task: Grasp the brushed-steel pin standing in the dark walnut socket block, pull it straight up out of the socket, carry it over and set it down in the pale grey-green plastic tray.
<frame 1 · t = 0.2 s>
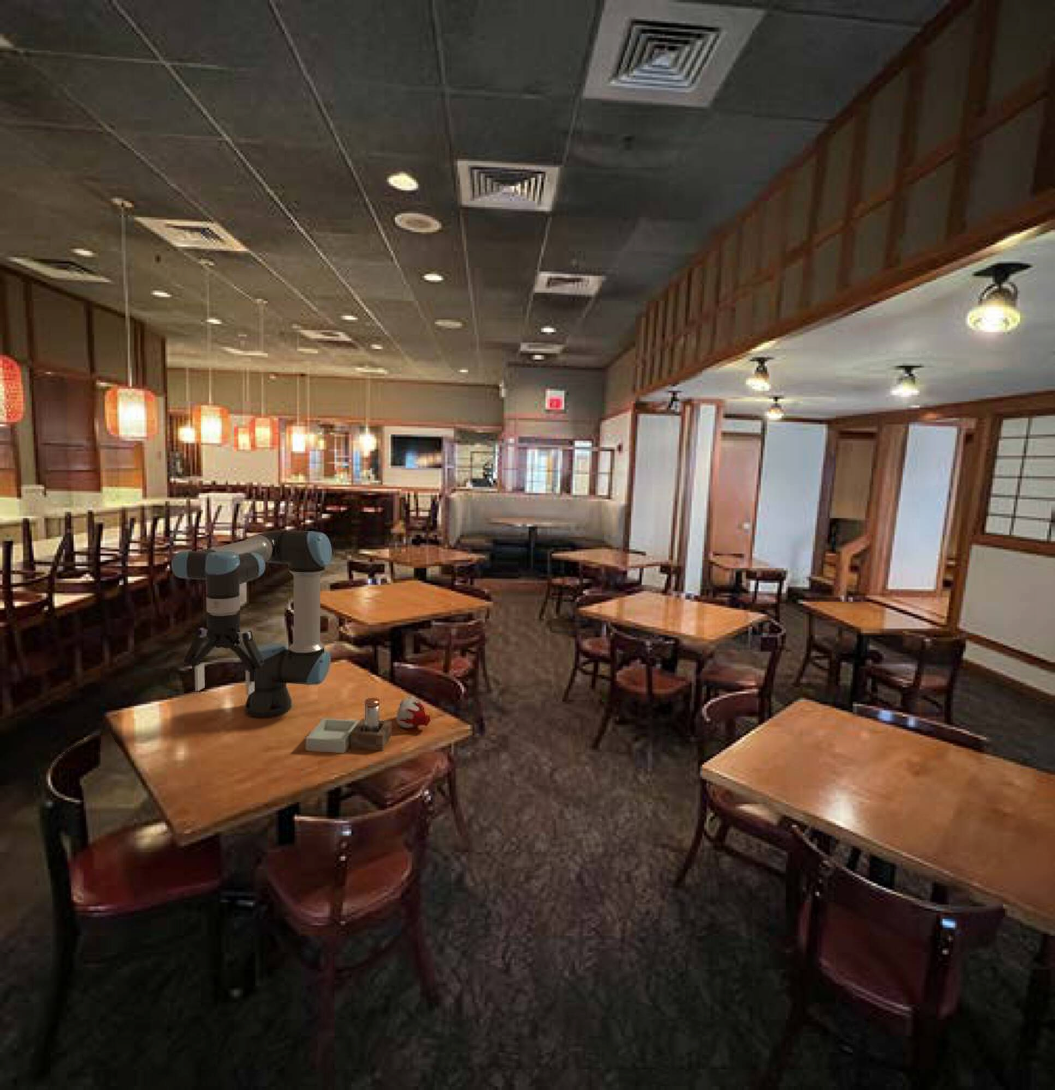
hand: (225, 690, 144), 28 cm above the table, fingers open, 13 cm apart
pin: (371, 721, 177), in the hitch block
candle: (412, 726, 190), on the table
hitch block: (371, 741, 178), on the table
tray: (333, 740, 177), on the table
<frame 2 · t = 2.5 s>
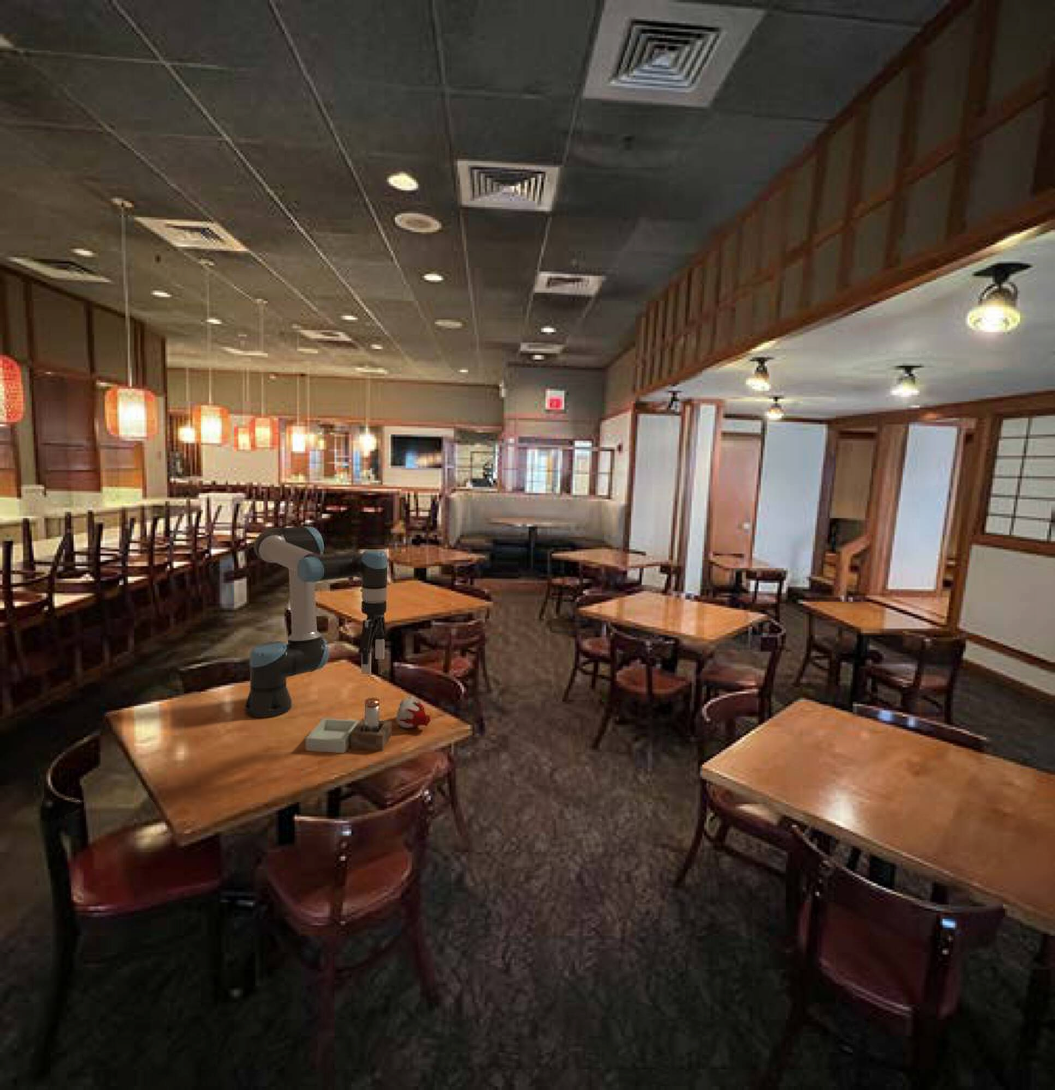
hand: (373, 665, 174), 26 cm above the table, fingers open, 13 cm apart
nothing on the table moved.
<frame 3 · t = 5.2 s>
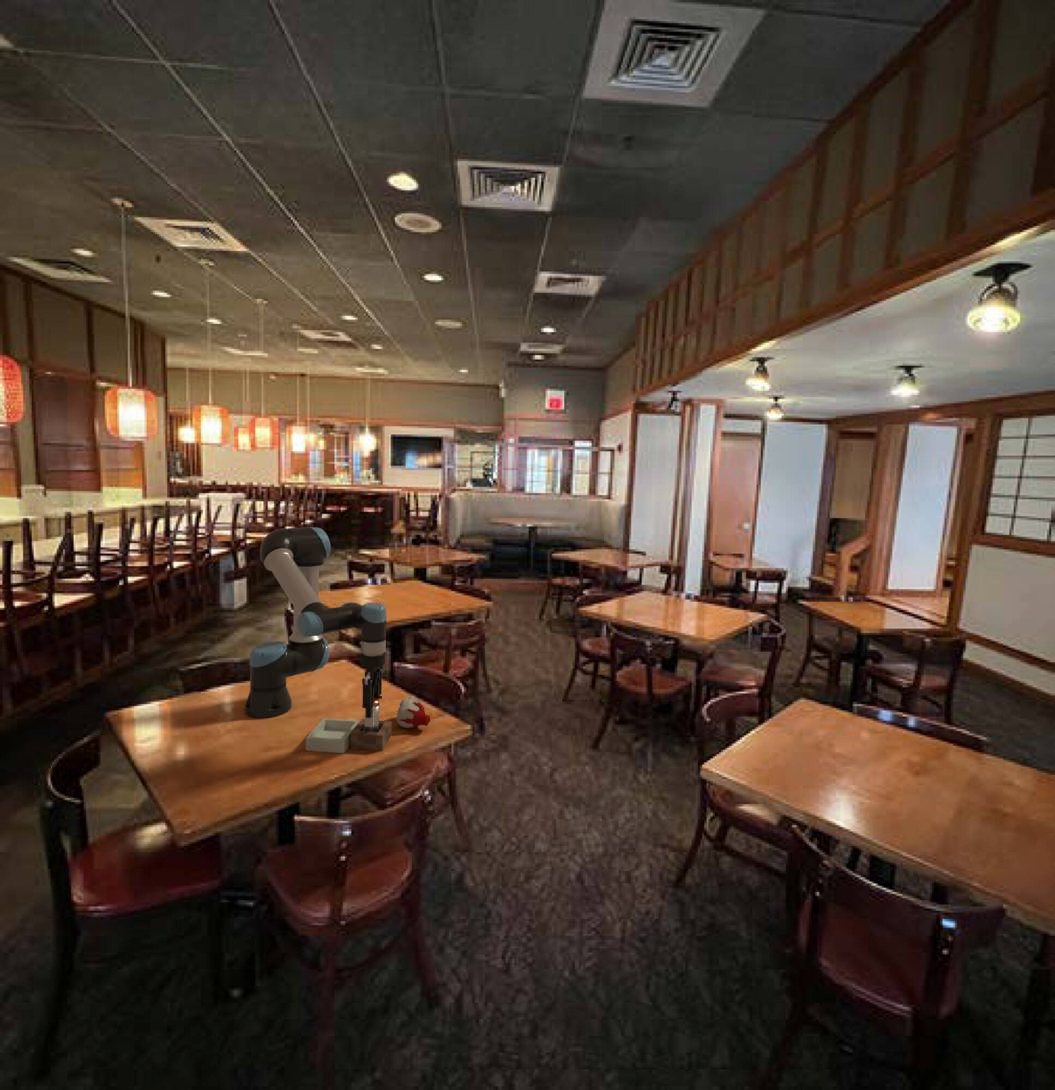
hand: (371, 722, 177), 7 cm above the table, fingers closed on pin, 4 cm apart
pin: (371, 721, 177), in the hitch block, touching gripper
everything else where it was.
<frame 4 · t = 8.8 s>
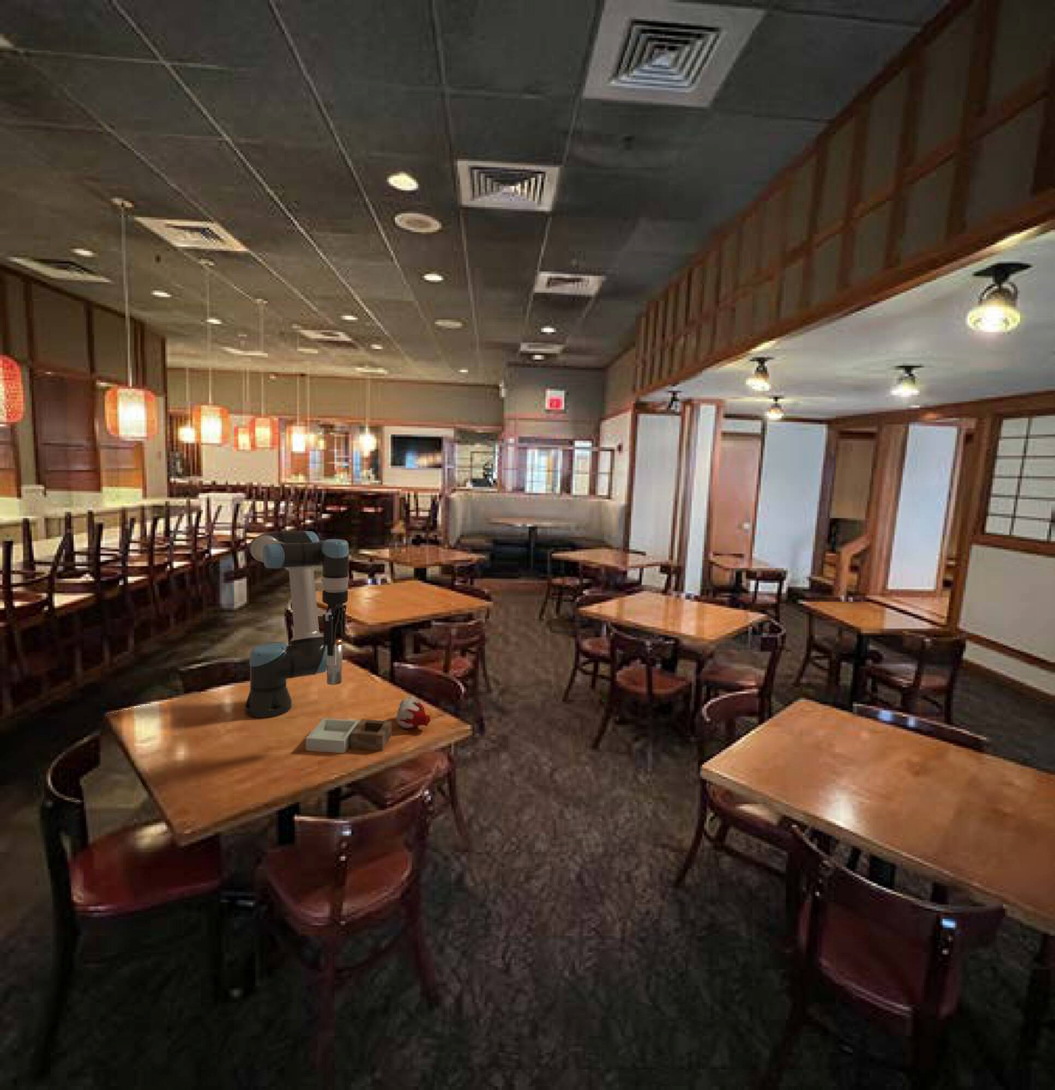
hand: (334, 661, 174), 26 cm above the table, fingers closed on pin, 4 cm apart
pin: (334, 660, 174), point 27 cm above the table, touching gripper
everything else where it was.
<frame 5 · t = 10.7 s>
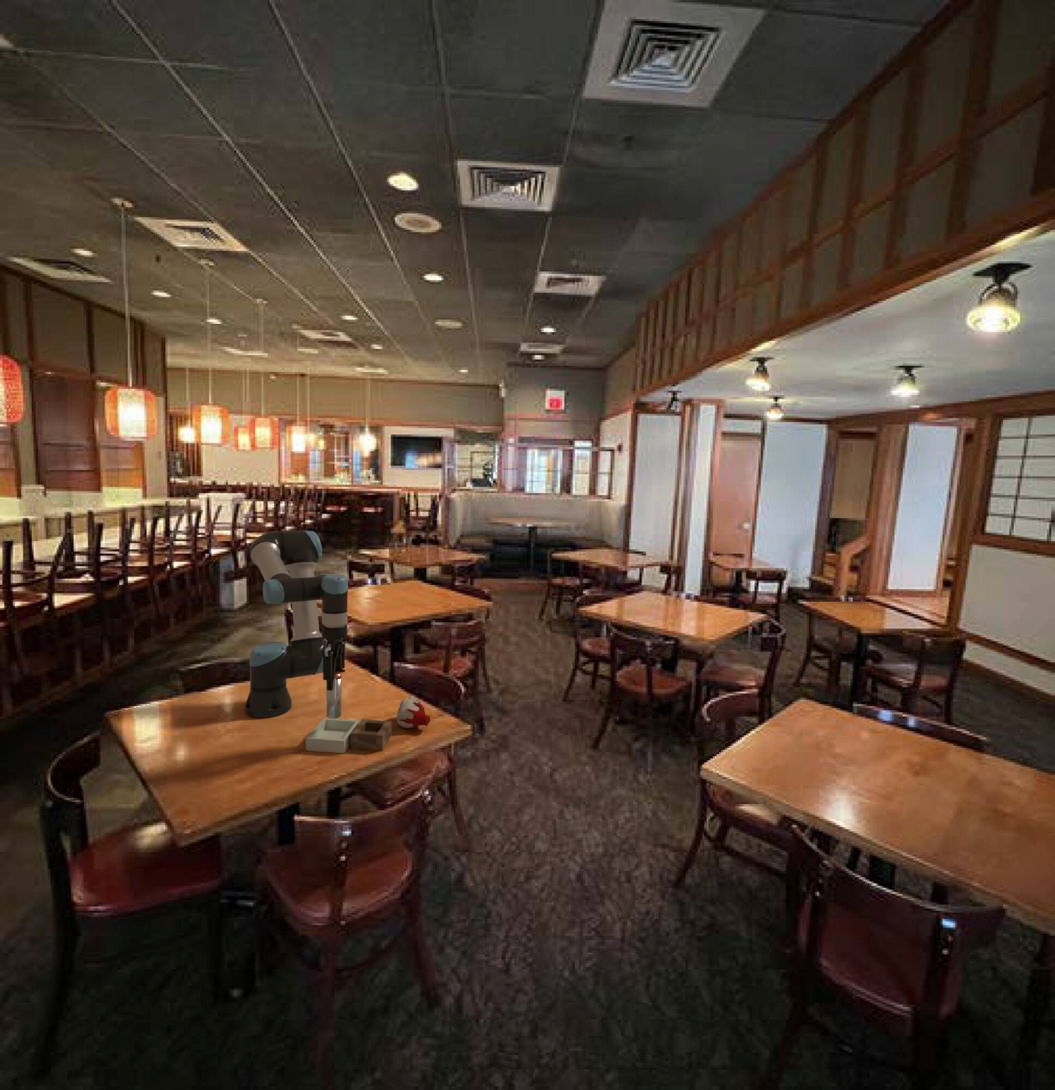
hand: (334, 695, 175), 15 cm above the table, fingers closed on pin, 4 cm apart
pin: (334, 694, 175), point 16 cm above the table, touching gripper
everything else where it was.
when the fingers open (9 cm above the table, at t = 12.6 s): pin drops 1 cm, resting on tray.
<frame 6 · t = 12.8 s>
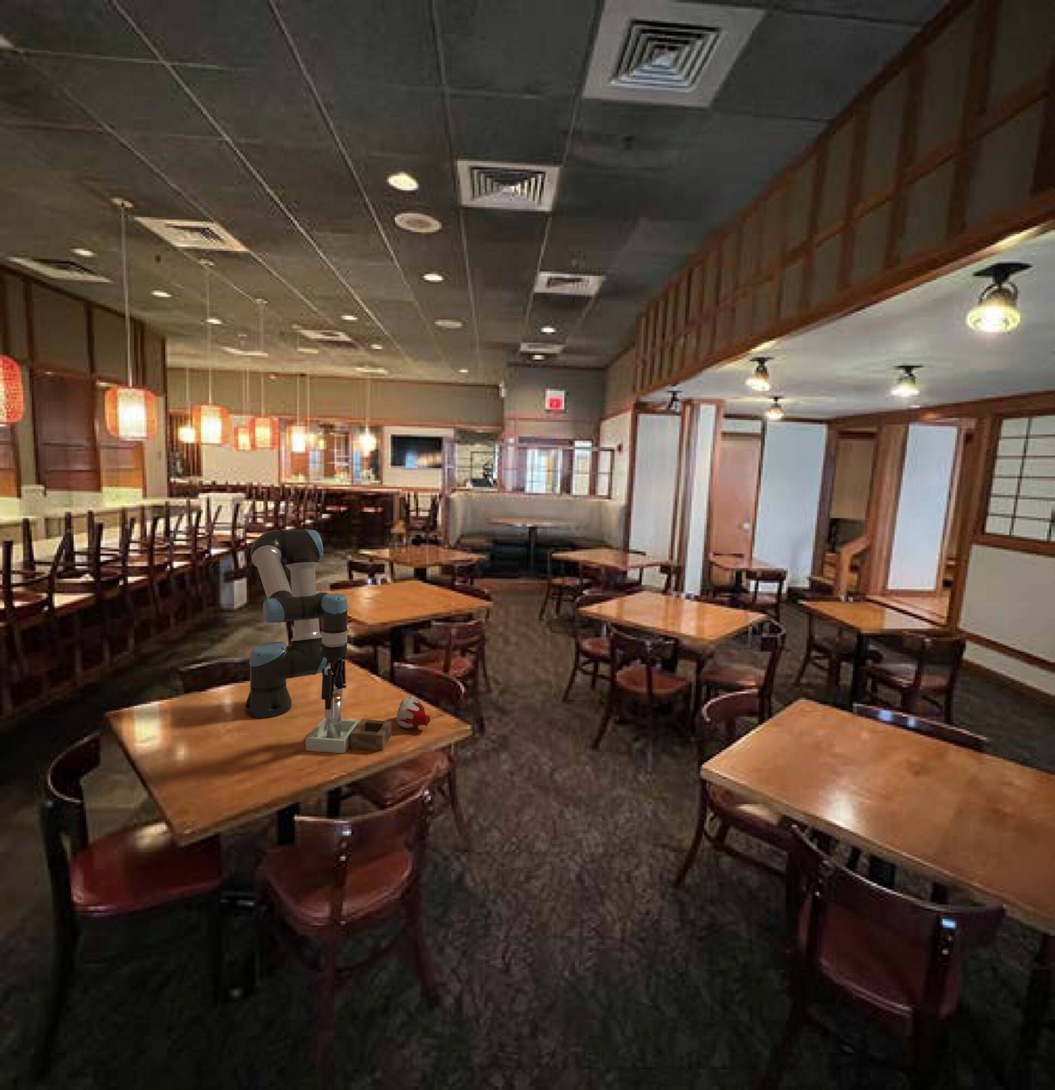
hand: (333, 712, 176), 9 cm above the table, fingers open, 7 cm apart
pin: (333, 717, 176), in the tray, point 8 cm above the table
everything else where it was.
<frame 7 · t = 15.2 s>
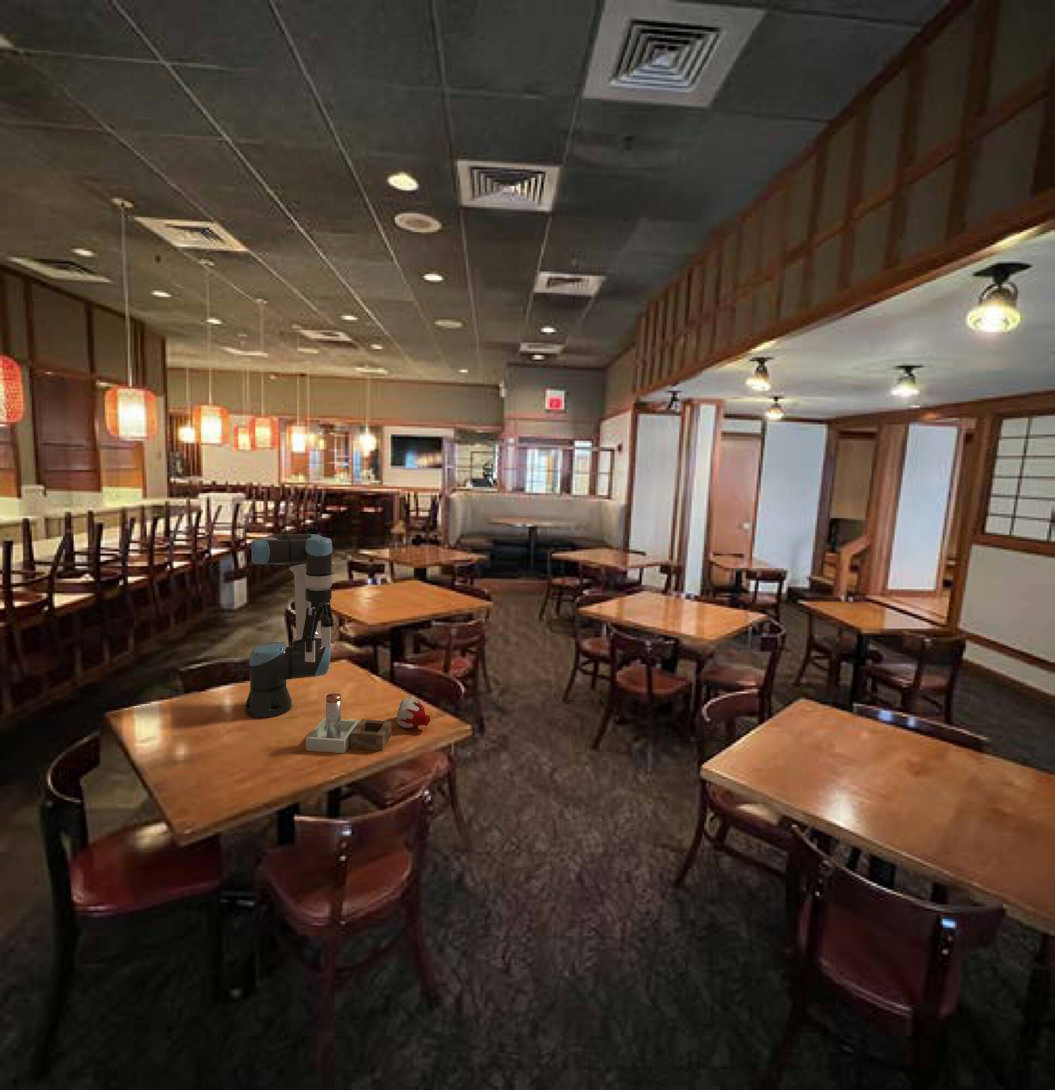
hand: (318, 653, 172), 29 cm above the table, fingers open, 13 cm apart
nothing on the table moved.
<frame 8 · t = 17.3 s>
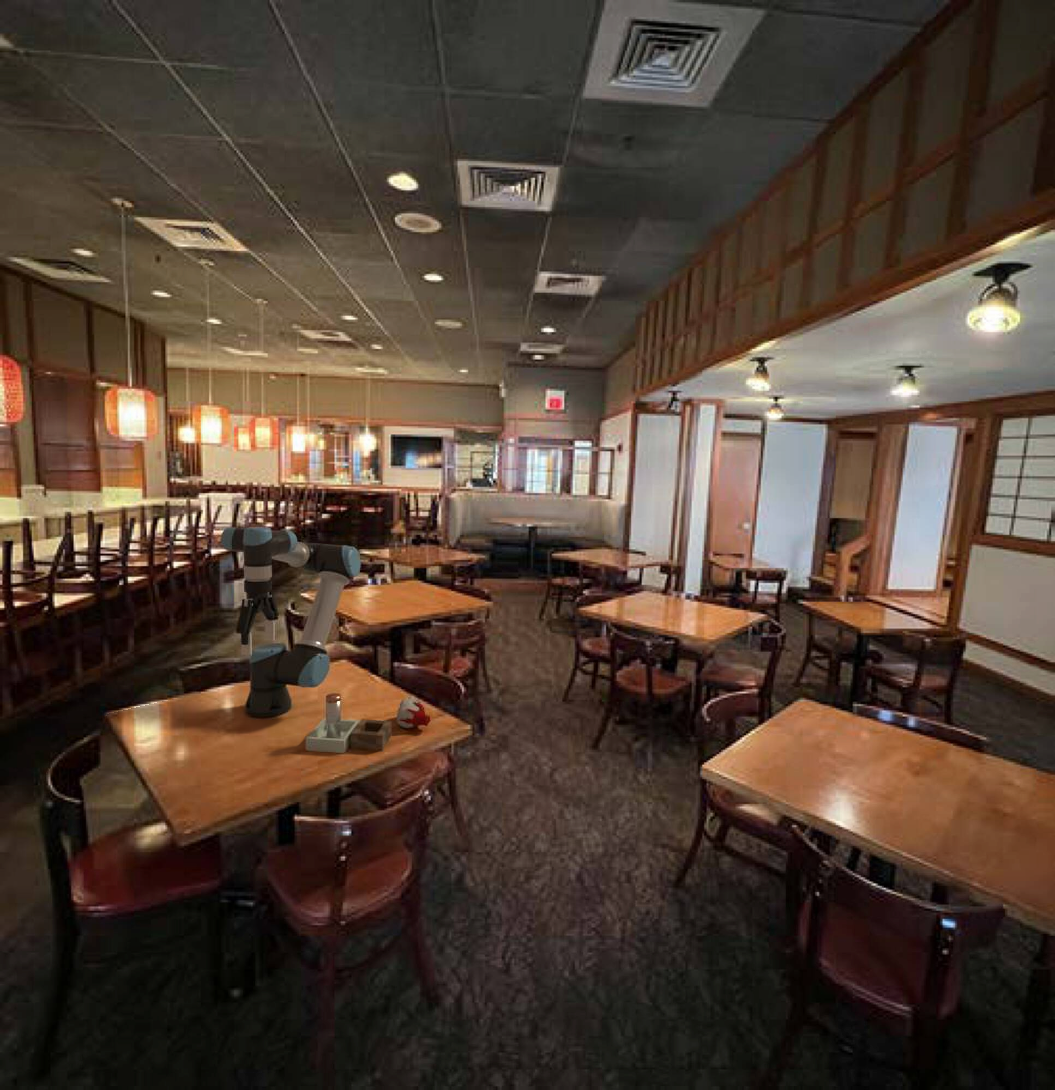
hand: (258, 647, 168), 32 cm above the table, fingers open, 13 cm apart
nothing on the table moved.
at the end: pin inside the target area on the tray (0.0 cm from its centre), point 8.0 cm above the tray's base; pin touching tray; the gripper is holding nothing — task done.
